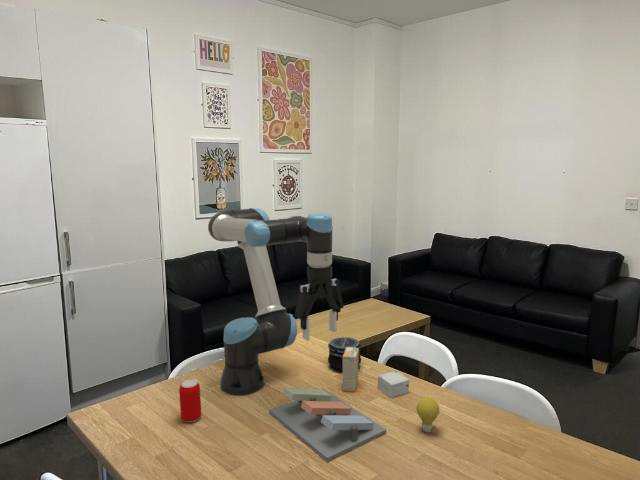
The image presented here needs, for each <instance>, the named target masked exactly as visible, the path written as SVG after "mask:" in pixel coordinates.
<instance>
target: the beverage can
mask: <svg viewBox="0 0 640 480" xmlns="http://www.w3.org/2000/svg"><path fill="white" fill-rule="evenodd" d="M178 389H179V390H178V392H179V407H180V408H179V409H180V410H179V412H180V419H181V420H182V421H184V422H185V423H194V422H197V421H198V420H200V419H201V417H202V400H201V398H202V397H201V386H200V384H199V382H198V381H197V380H194V379H187V380H185V381H183V382H181V384H180V386H179V388H178Z"/></svg>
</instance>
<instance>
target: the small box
mask: <svg viewBox="0 0 640 480" xmlns="http://www.w3.org/2000/svg"><path fill="white" fill-rule="evenodd" d="M409 384H410V379H409V378H407V377H406V376H405V375H403V374H402V373H400V372H398V371H397V370H394V371H391V372H386V373H384V374H379V375H377V389H378V390H379V391H380V392H382V393H383V394H385V395H386V396H388V397H389V398H395V397H399V396H402V395H405V394H408V393H409V386H410V385H409Z"/></svg>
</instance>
